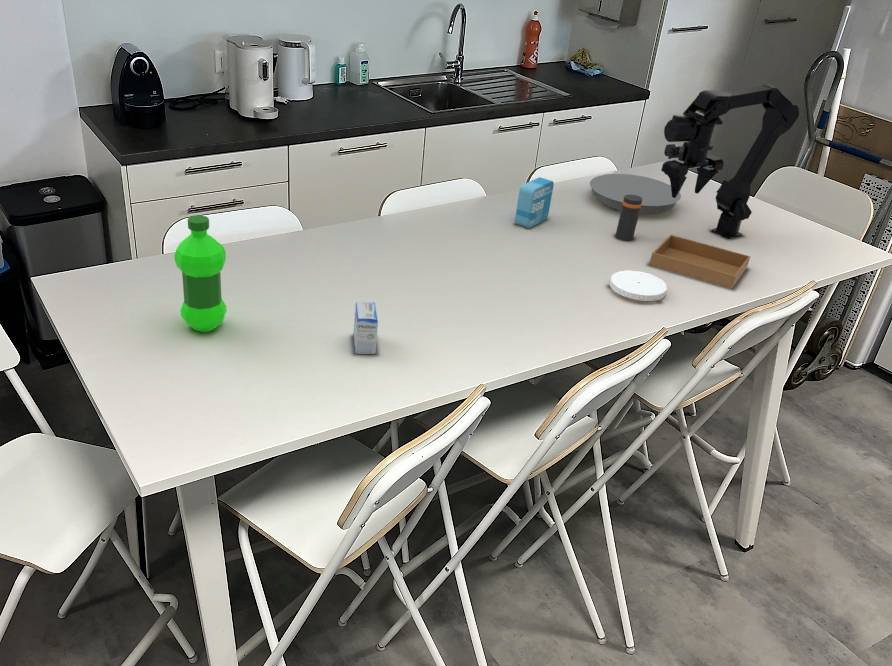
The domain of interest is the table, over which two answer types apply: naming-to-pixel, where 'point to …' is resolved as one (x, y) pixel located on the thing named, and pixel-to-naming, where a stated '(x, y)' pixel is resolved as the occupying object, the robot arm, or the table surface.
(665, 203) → the flat disc
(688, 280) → the table surface
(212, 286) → the plastic bottle
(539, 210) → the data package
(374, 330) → the medicine box
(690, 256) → the brown wooden tray
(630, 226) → the dark grey cylinder
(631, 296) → the plastic lid
